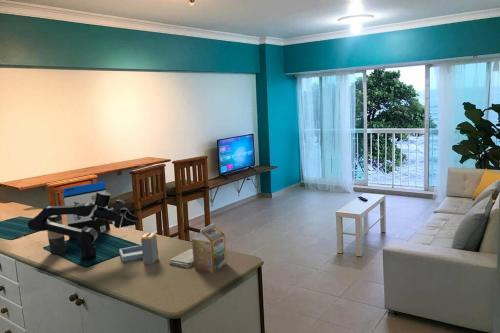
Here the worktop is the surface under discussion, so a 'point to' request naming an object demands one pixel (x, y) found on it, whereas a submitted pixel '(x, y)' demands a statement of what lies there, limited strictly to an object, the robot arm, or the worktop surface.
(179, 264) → the washcloth
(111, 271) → the worktop surface
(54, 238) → the travel mug
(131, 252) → the tray
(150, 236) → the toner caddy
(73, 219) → the protein powder
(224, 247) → the milk carton
